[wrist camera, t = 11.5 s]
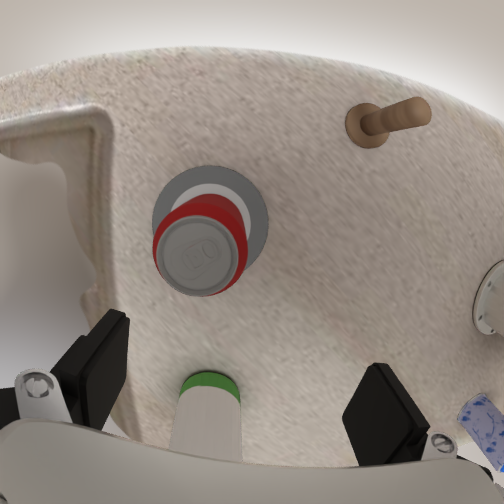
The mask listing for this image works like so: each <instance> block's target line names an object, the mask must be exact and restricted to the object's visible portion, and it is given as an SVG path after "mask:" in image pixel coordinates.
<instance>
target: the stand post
mask: <svg viewBox="0 0 504 504" xmlns="http://www.w3.org/2000/svg"><path fill="white" fill-rule="evenodd" d="M431 116H432V113H431V108H430V106H429V104H428V103H427V102H426V101H425V100H424V99H423V98H421V97H413V98H410V99H407V100H404V101H401V102H398V103H396V104H393V105H390V106H388V107H385V108H382V109H380V108H379V107H377V106H376V105H373V104H370V103H362V104H359V105H357V106H355V107H353V108H352V109H351V110H350V111H349V112H348V114H347V117H346V121H345V126H346V131H347V133H348V135H349V137H350V139H351V140H352V141H353V142H354V143H355V144H357V145H358V146H360V147H363V148H375V147H379V146H381V145H382V144H384V143H385V141H386V140H387V138H388V136H389V132H393V131H398V130H403V129H408V128H413V127H419V126H424V125H427V124H428V123H429V122H430V120H431Z"/></svg>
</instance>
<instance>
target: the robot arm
mask: <svg viewBox="0 0 504 504" xmlns="http://www.w3.org/2000/svg"><path fill="white" fill-rule="evenodd" d="M473 318H474V324H475V326H476V328H477V329H478V330H479V331H480V332H481V333H483V334H485V335H491V334H494V333H496V332H498V333H499V334H500V335H502V336H503V337H504V261H501V262H499V263H498V264H496V265H495V266H494V267H493V268H492V269H491V270H490V271H489V273H488V274H487V275H486V277H485V278H484V280H483V282H482V284H481V286H480V288H479V291H478V293H477V296H476V299H475V304H474V311H473ZM129 325H130V319H129V318H127V317H126V314H125V313H124V312H121V311H117V310H114V309H110V310H109V311H108V312H107V313H106V314H105V315H104V316H103V317H102V319H101V320H100V321H99V322H98V323H97V324H96V326H95V327H94V328H93V329H92V330H91V331H90V333H89V334H88V335H87V336H84V335H81V336H80V337H79V338H78V339H77V340H76V341H75V343H74V344H73V345H72V346H71V347H70V348H69V349H68V351H67V352H66V353H65V354H64V355H63V356H62V358H61V359H60V360H59V361H58V362H57V364H56V365H55V366H54V367H53V368H52V369H51V371H50V372H47V371H45V370H41V369H28V370H25V371H23V372H21V373H20V374H19V375H18V376H17V377H16V379H15V387H12V388H3V389H0V504H504V488H503V487H501V486H500V485H499V484H497V483H495V484H494V483H493V477H492V474H491V472H490V470H489V469H487V468H485V467H482V466H480V465H478V464H476V463H474V462H471V461H469V460H467V459H465V458H463V457H461V456H458V455H457V450H458V448H457V444H456V442H455V440H454V439H453V438H452V437H451V436H449V435H448V434H446V433H444V432H440V431H434V432H431V433H430V434H429V435H428V434H427V433H426V432H427V431H428V429H429V428H430V427H431V426H430V425H429V423H428V422H427V420H426V419H425V417H424V416H423V414H422V413H421V411H420V410H419V408H418V407H417V405H416V404H415V403H414V401H413V400H412V398H411V397H410V395H409V394H408V392H407V391H406V389H405V388H404V386H403V385H402V384H401V382H400V381H399V379H398V378H397V376H396V375H395V374H394V372H393V371H392V369H391V368H390V366H389V365H388V364H385V363H373V364H372V365H371V366H369V367H368V368H367V370H366V372H365V374H364V376H363V378H362V380H361V382H360V383H359V385H358V387H357V389H356V391H355V393H354V395H353V397H352V398H351V400H350V402H349V404H348V406H347V407H346V409H345V411H344V413H343V416H342V421H343V424H344V426H345V429H346V432H347V434H348V437H349V440H350V442H351V445H352V448H353V450H354V453H355V456H356V458H357V461H358V464H359V466H355V467H293V466H276V465H264V464H253V463H244V462H236V461H229V460H222V459H215V458H209V457H204V456H198V455H193V454H188V453H183V452H179V451H174V450H170V449H165V448H161V447H157V446H153V445H149V444H145V443H142V442H138V441H134V440H131V439H127V438H124V437H120V436H117V435H113V434H110V433H107V432H103V431H101V430H102V428H103V426H104V424H105V422H106V420H107V418H108V416H109V413H110V411H111V409H112V407H113V405H114V403H115V401H116V399H117V397H118V395H119V393H120V391H121V389H122V387H123V385H124V382H125V379H126V370H127V352H128V337H129ZM6 501H7V502H8V503H7V502H6Z"/></svg>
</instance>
